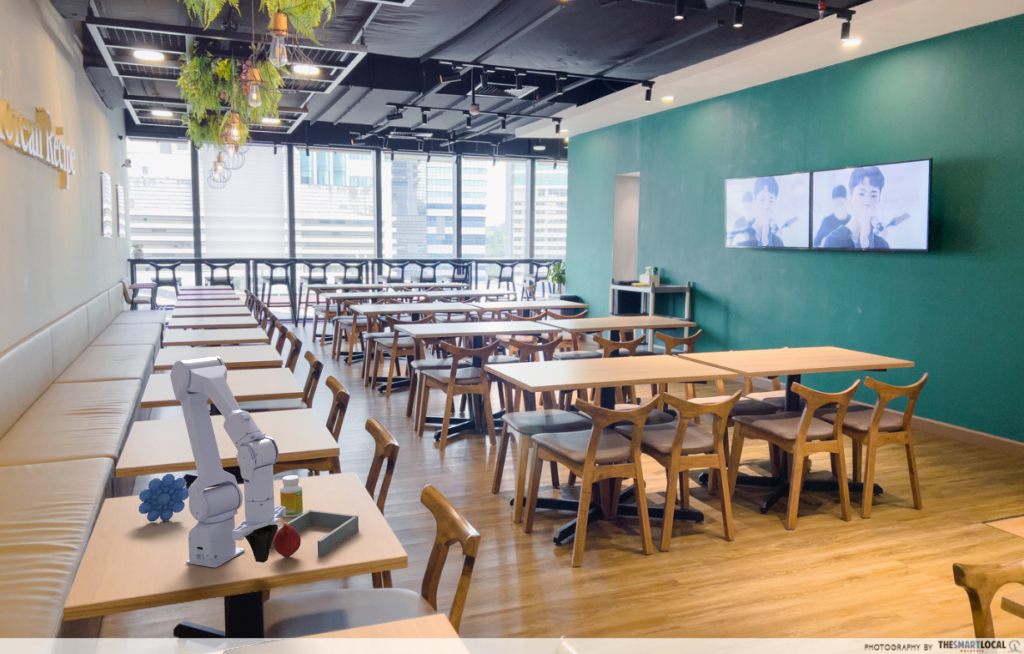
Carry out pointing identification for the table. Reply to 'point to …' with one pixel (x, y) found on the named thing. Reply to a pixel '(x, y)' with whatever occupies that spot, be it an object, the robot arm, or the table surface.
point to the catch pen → (326, 519)
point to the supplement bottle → (291, 496)
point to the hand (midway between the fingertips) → (261, 560)
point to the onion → (286, 540)
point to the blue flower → (163, 498)
